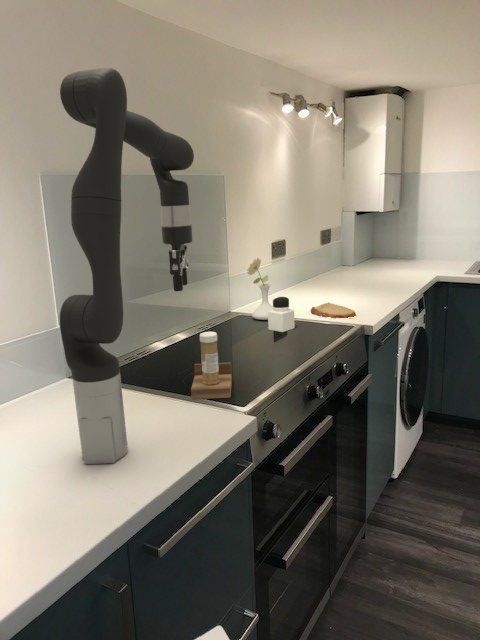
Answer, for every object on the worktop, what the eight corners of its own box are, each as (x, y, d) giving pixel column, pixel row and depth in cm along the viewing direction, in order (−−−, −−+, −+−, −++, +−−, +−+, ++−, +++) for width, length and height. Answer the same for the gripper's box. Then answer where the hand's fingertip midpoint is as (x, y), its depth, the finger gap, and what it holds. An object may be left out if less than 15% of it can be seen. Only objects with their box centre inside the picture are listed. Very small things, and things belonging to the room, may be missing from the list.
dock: (230, 397, 138) (229, 377, 137) (191, 399, 139) (190, 378, 137) (231, 381, 150) (230, 362, 149) (195, 382, 150) (194, 363, 149)
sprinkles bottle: (202, 380, 144) (199, 331, 141) (219, 379, 145) (216, 330, 142) (202, 386, 140) (199, 336, 137) (220, 384, 140) (217, 335, 137)
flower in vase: (268, 313, 227) (266, 254, 221) (285, 318, 218) (283, 256, 212) (242, 319, 220) (240, 257, 214) (259, 324, 211) (256, 260, 205)
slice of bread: (357, 319, 212) (357, 310, 212) (311, 320, 214) (311, 311, 214) (353, 309, 230) (353, 300, 229) (310, 310, 232) (310, 301, 231)
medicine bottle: (295, 328, 202) (294, 296, 199) (283, 332, 197) (282, 300, 194) (280, 325, 207) (279, 294, 204) (268, 329, 202) (266, 298, 199)
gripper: (187, 225, 128) (191, 292, 132) (194, 221, 142) (198, 282, 146) (156, 226, 129) (161, 293, 133) (166, 223, 143) (171, 283, 146)
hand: (180, 287), depth 139 cm, fingers open, 8 cm apart
